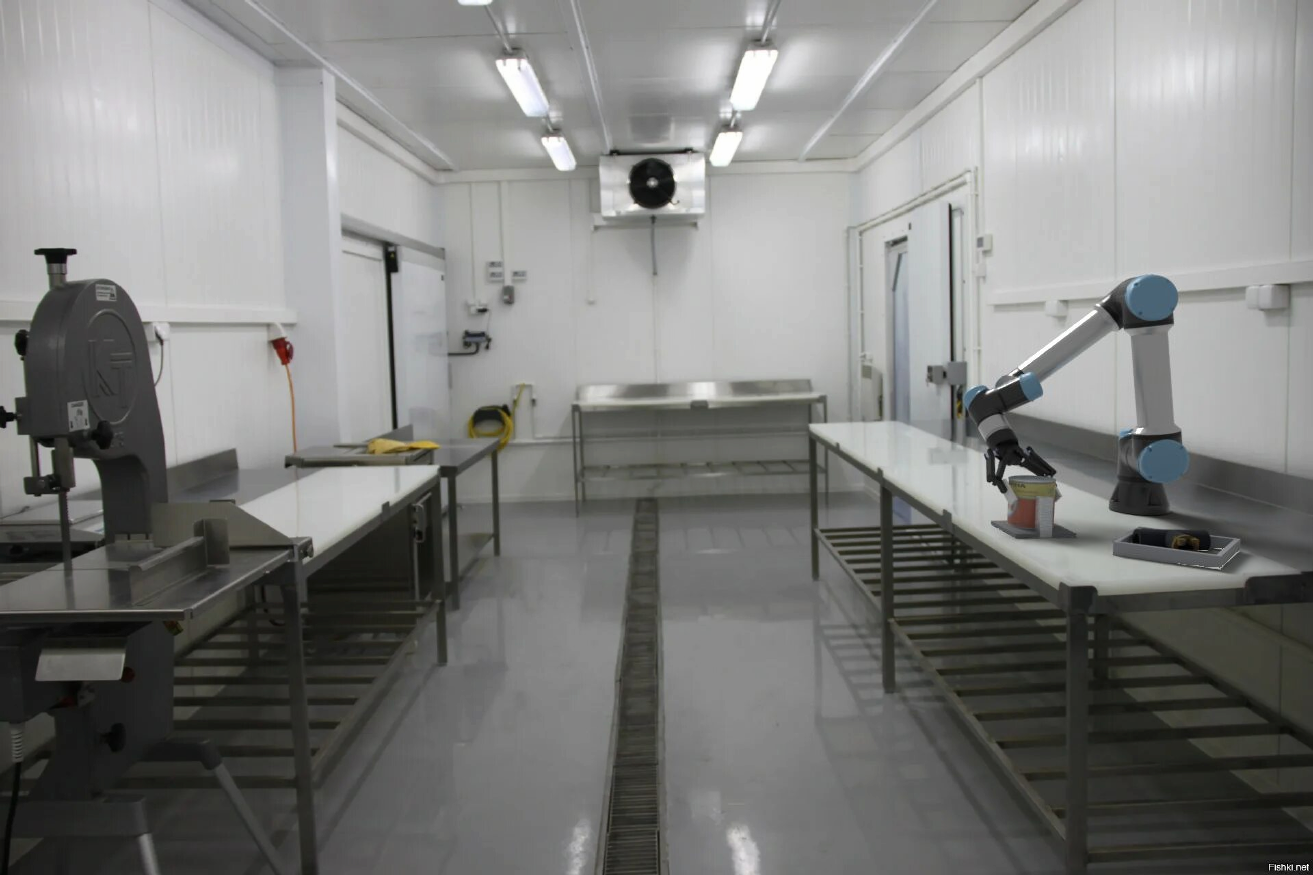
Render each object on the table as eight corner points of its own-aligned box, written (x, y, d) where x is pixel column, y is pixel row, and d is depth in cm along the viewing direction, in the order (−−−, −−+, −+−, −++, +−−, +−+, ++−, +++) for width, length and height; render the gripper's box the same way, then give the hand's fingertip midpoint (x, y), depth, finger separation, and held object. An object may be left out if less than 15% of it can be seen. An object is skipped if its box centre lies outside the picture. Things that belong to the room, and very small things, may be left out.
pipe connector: (1225, 537, 199) (1153, 536, 200) (1224, 561, 199) (1152, 559, 201) (1200, 527, 210) (1132, 526, 212) (1199, 549, 210) (1131, 548, 212)
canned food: (1000, 520, 238) (1001, 475, 236) (1043, 520, 237) (1045, 475, 236) (1016, 529, 227) (1017, 482, 225) (1061, 529, 226) (1063, 482, 225)
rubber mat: (990, 524, 238) (990, 520, 238) (1047, 523, 238) (1047, 519, 238) (1015, 538, 222) (1015, 534, 222) (1076, 537, 222) (1076, 533, 222)
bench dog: (1034, 535, 225) (1036, 495, 224) (1046, 534, 225) (1048, 495, 224) (1039, 537, 222) (1041, 497, 221) (1051, 537, 222) (1053, 497, 221)
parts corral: (1239, 551, 206) (1240, 538, 206) (1220, 570, 191) (1220, 556, 190) (1138, 538, 220) (1139, 526, 220) (1112, 554, 205) (1113, 541, 204)
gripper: (1030, 442, 248) (1068, 506, 235) (952, 446, 240) (987, 512, 228) (1044, 424, 242) (1084, 489, 230) (965, 428, 235) (1002, 495, 222)
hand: (1036, 501), depth 229 cm, fingers open, 13 cm apart
